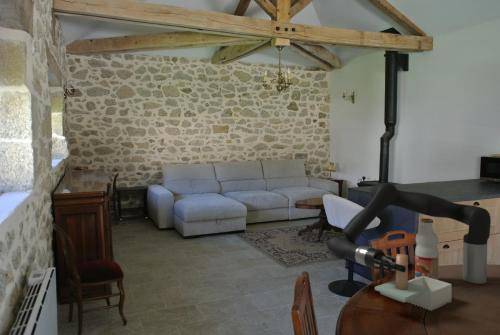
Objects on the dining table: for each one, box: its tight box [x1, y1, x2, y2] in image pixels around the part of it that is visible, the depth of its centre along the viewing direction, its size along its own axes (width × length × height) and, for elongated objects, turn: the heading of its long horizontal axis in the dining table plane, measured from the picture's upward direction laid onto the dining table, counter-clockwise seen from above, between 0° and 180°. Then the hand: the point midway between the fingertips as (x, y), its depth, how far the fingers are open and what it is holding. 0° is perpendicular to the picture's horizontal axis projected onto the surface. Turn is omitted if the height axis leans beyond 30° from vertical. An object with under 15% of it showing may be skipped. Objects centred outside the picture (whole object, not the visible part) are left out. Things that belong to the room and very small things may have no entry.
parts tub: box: [405, 276, 453, 312], centre depth 150 cm, size 14×12×7 cm
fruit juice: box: [414, 218, 439, 280], centre depth 171 cm, size 9×9×28 cm
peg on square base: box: [374, 253, 429, 303], centre depth 141 cm, size 14×12×14 cm
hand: (408, 268), depth 138 cm, fingers closed on peg on square base, 4 cm apart
